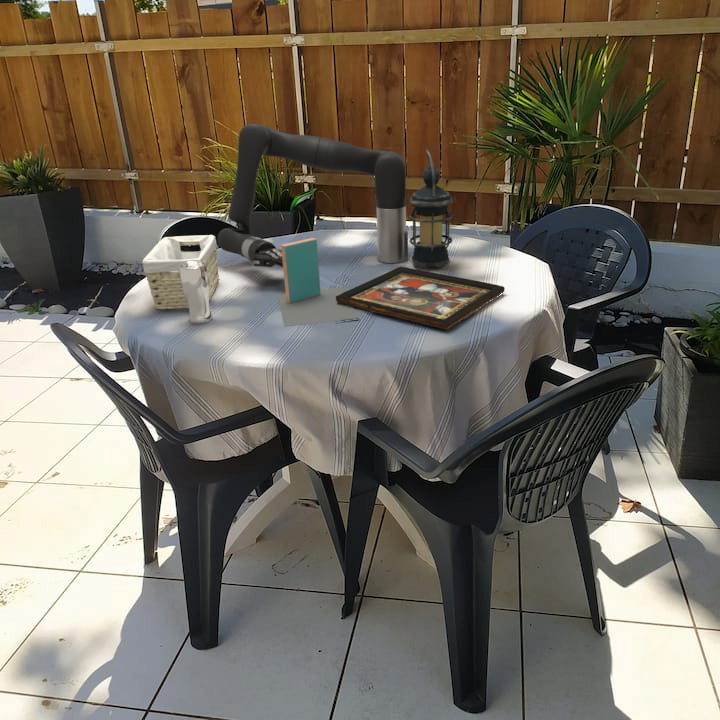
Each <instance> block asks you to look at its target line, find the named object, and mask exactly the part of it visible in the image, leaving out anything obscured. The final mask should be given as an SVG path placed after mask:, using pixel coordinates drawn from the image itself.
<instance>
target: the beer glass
mask: <svg viewBox="0 0 720 720" xmlns="http://www.w3.org/2000/svg"><path fill="white" fill-rule="evenodd" d="M179 269H180V280H181V285H182V289H183V292H184V295H185V298H186V301H187V304H188V307H189V308H188V314H189V315H188V321H189V323H191V324H196V323H198V324H199V323H200V324H205V322H206V323H208V322H210V321H212V319H213V318H214V317H213V314H212V311H211V308H210V302H209V301H210V300H209V279H208V273H207V269H206V265H205V262H203V261H189V262H184V263H182V264H180V265H179ZM198 324H197V325H198Z"/></svg>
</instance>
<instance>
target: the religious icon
mask: <svg viewBox="0 0 720 720" xmlns="http://www.w3.org/2000/svg"><path fill="white" fill-rule="evenodd" d="M503 292H504V293H505V286H503V285H498V284H494V283H490V282H484V281H479V280H475V279H471V278H470V279H469V278H463V277H459V276H453V275H447V274H444V273H443V274H441V273H438V272H431V271H427V270H421V269H416V268H411V267H405V266H399V267H397V268H393V269H391V270H390V271H387V272H385V273H383V274H381V275H378V276H377V277H375V278H373V279H370V280H368V281H366V282H364V283H361V284H360V285H359V284H358V286H355V287H353V288H350V289H348V290H345V292H343V293H342V294H340V295H338V296H336V301H337V302H338V303H341V304H345V305H349V306H353V308H358V309H361V310H366V311H369V312H373V313H377V314H381V315H385V316H389V317H394V318H398V319H401V320H404V321H409V320H410V321H409V322H414V323H418V324H421V323H422V325H425V324H426V326H429V325H430V327H433V326H434V327H433V328H437V327H439V328H438V329H441V328H443V329H442V330H449V329H451V328H452V327H453V325H454V326H456V325H457V324H459V323H461V322H462V321H464V320H465V319H467V318H468V317H470V316H472V313H473V312H474V313H476V312H477V311H478V310H480V309H481V308H480V307H482V306H483V305H484V306H486V305H487V304H486V303H487V302H489V301H490V300H492V299H494V298H496V297H497V296H499V295H500V294H501V293H503ZM504 293H503V294H504ZM500 296H501V295H500ZM500 296H499V297H500ZM497 298H498V297H497ZM497 298H496V299H497ZM494 300H495V299H494ZM492 301H493V300H492ZM489 303H490V302H489ZM485 304H486V305H485ZM484 306H483V307H484ZM483 307H482V308H483ZM479 308H480V309H479ZM477 309H478V310H477ZM476 310H477V311H476ZM475 311H476V312H475ZM474 313H473V314H474ZM469 315H470V316H469ZM466 317H467V318H466ZM463 319H464V320H463ZM461 320H462V321H461ZM458 322H459V323H458ZM456 323H457V324H456ZM455 324H456V325H455ZM450 327H451V328H450Z"/></svg>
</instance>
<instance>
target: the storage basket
mask: <svg viewBox="0 0 720 720" xmlns="http://www.w3.org/2000/svg"><path fill="white" fill-rule="evenodd" d="M217 243H218V242H217V239H216V236H215V235H213V234H209V235H208V234H205V235H204V234H203V235H201V234H200V235H180V236H179V235H178V236H165V237H163V238H162V239H161V240H159V241H158V242H157V244H156V245H155V246H154V247H153V248H152V249H151V251H149V253H148V254H147V255H146V256H144V258H143V260H142V261H141V262H142V267H143V272H144V276H145V277H146V280H147V282H148V286H149V287H148V288H149V290H150V294H151V297H152V299H153V303H154V306H155V309H156V310H157V309H158V310H174V309H176V310H181V309H189V307H188V304H187V301H186V298H185V295H184V292H183V289H182V285H181V280H180V269H179V265H180V264H182V263H184V262H189V261H203V262H205V265H206V269H207V273H208V279H209V301H211V297H213V295H214V293H215V291H216V288H217V286H218V284H219V282H220V280H221V279H220V278H219V267H218V261H219V260H218V259H217V258H218V255H217V254H218V249H217V248H218V247H217ZM181 246H182V247H183V246H199V247H200V250H198V251H182V250H181Z"/></svg>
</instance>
